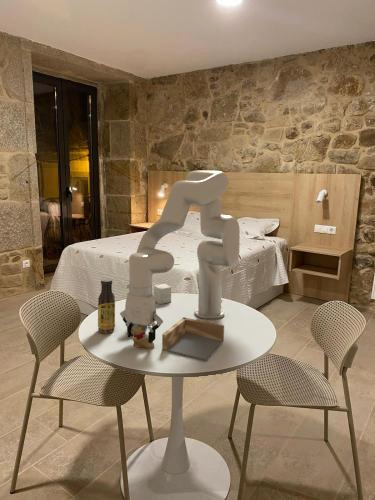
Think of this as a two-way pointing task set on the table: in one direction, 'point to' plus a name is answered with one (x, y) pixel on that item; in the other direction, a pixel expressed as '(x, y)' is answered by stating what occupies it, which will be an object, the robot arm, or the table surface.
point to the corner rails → (191, 331)
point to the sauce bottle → (106, 307)
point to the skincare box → (162, 293)
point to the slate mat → (194, 346)
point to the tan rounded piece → (141, 337)
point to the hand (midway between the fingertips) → (141, 338)
